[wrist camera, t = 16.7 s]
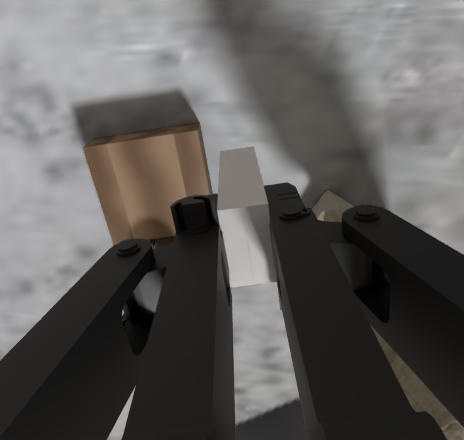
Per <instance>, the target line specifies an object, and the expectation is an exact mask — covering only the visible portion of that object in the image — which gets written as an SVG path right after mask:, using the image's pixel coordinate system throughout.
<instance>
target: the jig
mask: <svg viewBox="0 0 464 440" xmlns="http://www.w3.org/2000/svg"><path fill="white" fill-rule="evenodd" d="M83 150H84V153H85V156H86V159H87V162H88V165H89V168H90V171H91V175H92V178H93V181H94V184H95V187H96V190H97V193H98V196H99V200H100V203H101V206H102V209H103V212H104V215H105V218H106V221H107V224H108V228H109V231H110V234H111V237H112V240H113V243H114V245H116V244H118V243H120V242H121V241H124V240H127V239H138V238H139V239H146V240H149V239H156V238H163V237H170V236H175V234H176V230H175V225H174V221H173V217H172V213H171V208H170V206H171V205H172V204H173V203H174V202H176V201H177V200H180V199H182V198H185V197H189V196H194V195H212V194H213V192H212V187H211V181H210V176H209V170H208V165H207V159H206V154H205V148H204V143H203V137H202V132H201V126H200V123H194V124H187V125H181V126H174V127H168V128H161V129H155V130H148V131H142V132H135V133H129V134H122V135H116V136H109V137H103V138H96V139H94V140H93V141H91V142H90V143H89V144H87V145H86V146H85V147H83Z"/></svg>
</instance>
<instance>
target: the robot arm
mask: <svg viewBox="0 0 464 440" xmlns="http://www.w3.org/2000/svg"><path fill="white" fill-rule="evenodd" d="M170 208H171V213H172V217H173V221H174V225H175V230H176V234H175V237H174V241H173V242H172V243H170V244H168V245H165V246H162V247H159V248H155V249H152V246H151V243H150V241H148V240H146V239H139V238H138V239H127V240H124V241H121V242H120V243H118V244H116V245H114V246H113V247H112V248H110V249H109V250H108V251H107V252H106V253H105V254H104V255H103V256H102V257H101V258H100V259H99V260H98V261H97V262H96V263H95V264H94V265H93V266H92V267H91V268H90V269H89V270H88V271H87V272H86V273H85V274H84V275H83V276H82V277H81V278H80V280H79V281H78V282H77V283H76V284H75V285H74V286H73V287H72V288H71V289H70V290H69V291H68V292H67V293H66V294H65V295H64V296H63V297H62V298H61V299H60V300H59V301H58V302H57V303H56V304H55V305H54V306H53V307H52V308H51V309H50V310H49V311H48V312H47V313H46V314H45V315H44V316H43V317H42V319H41V320H40V321H39V322H38V323H37V324H36V325H35V326H34V327H33V328H32V329H31V330H30V331H29V332H28V333H27V334H26V335H25V336H24V337H23V338H22V339H21V340H20V341H19V342H18V343H17V344H16V345H15V346H14V347H13V348H12V349H11V350H10V351H9V352H8V353H7V354H6V355H5V356H4V357H3V359H2V360H1V361H0V440H107V438H108V436H109V434H110V432H111V431H112V429H113V427H114V425H115V423H116V421H117V419H118V417H119V416H120V414H121V412H122V410H123V408H124V406H125V404H126V402H127V401H128V399H129V397H130V395H131V393H132V391H133V389H134V387H135V386H136V388H135V391H134V395H133V399H132V403H131V407H130V411H129V415H128V418H127V422H126V426H125V430H124V434H123V437H122V440H235V400H234V360H233V321H232V294H231V289H230V285H231V287H239V286H246V285H254V284H261V283H269V282H277V285H278V294H279V302H280V310H282V312H283V317H284V322H285V327H286V332H287V337H288V342H289V347H290V352H291V357H292V362H293V367H294V372H295V377H296V382H297V387H298V392H299V397H300V401H301V406H302V411H303V416H304V421H305V426H306V431H307V436H308V440H447V438H446V437H445V435H444V433H443V431H442V430H441V428H440V427H439V425H438V424H437V422H436V420H435V419H434V417H432V416H431V415H430V414H429V413H428V412H426V411H421V412H416V411H415V410H414V409H413V408H412V406H411V405H410V403H409V401H408V399H407V397H406V395H405V393H404V391H403V389H402V387H401V385H400V383H399V381H398V379H397V377H396V375H395V373H394V371H393V369H392V367H391V365H390V363H389V361H388V359H387V357H386V355H385V353H384V351H383V349H382V347H381V345H380V343H379V341H378V339H377V337H376V335H375V333H374V331H373V329H372V327H373V328H374V329H375V330H376V331H377V333H378V334H379V335H380V336H381V337H382V338H383V339H384V340H385V341H386V342H387V344H388V345H389V346H390V347H391V348H392V349H393V350H394V351H395V352H396V354H397V355H398V356H399V357H400V358H401V359H402V360H403V361H404V362H405V363H406V365H407V366H408V367H409V368H410V369H411V370H412V371H413V372H414V373H415V374H416V376H417V377H418V378H419V379H420V380H421V381H422V382H423V383H424V384H425V385H426V387H427V388H428V389H429V390H430V391H431V392H432V393H433V394H434V395H435V396H436V398H437V399H438V400H439V401H440V402H441V403H442V404H443V405H444V406H445V408H446V409H447V410H448V411H449V412H450V413H451V414H452V415H453V416H454V417H455V419H456V420H457V421H458V422H459V423H460V424H461V425H462V426H463V427H464V255H463V254H461V253H460V252H458V251H456V250H454V249H453V248H451V247H449V246H448V245H446V244H444V243H443V242H441V241H439V240H437V239H436V238H434V237H432V236H431V235H429V234H427V233H426V232H424V231H422V230H420V229H419V228H417V227H415V226H414V225H412V224H410V223H409V222H407V221H405V220H403V219H402V218H400V217H398V216H397V215H395V214H393V213H392V212H390V211H388V210H386V209H384V208H381V207H376V206H373V205H367V206H366V205H360V206H357V207H352V208H350V209H347V210H346V211H344V212H343V213H342V222H329V221H321V220H318V219H317V217H316V215H315V213H314V212H313V211H312V210H311V209H309V208H306V207H305V206H304V204H303V202H302V200H301V198H300V196H299V193H298V191H297V189H296V187H295V186H293V185H291V184H289V183H281V184H274V185H267V186H264V185H263V181H262V177H261V173H260V169H259V166H258V162H257V158H256V154H255V150H254V147H247V148H240V149H234V150H227V151H220V168H219V186H218V194H212V195H194V196H189V197H185V198H182V199H180V200H177V201H176V202H174V203H173V204H172V205H171V206H170ZM229 279H230V283H229ZM122 310H124V314H123V316H122ZM371 326H372V327H371Z"/></svg>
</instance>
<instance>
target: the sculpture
mask: <svg viewBox="0 0 464 440" xmlns="http://www.w3.org/2000/svg"><path fill="white" fill-rule="evenodd" d="M352 207H354V206H353V205H351V204H350V203H348V202H347V201H345V200H344V199H342V198H340V197H339V196H337V195H336V194H334V193H333V192H331V191H329V190H328V191H325V193H324V194H323V195H322V196H321V198H320V199H319V200H318V202H317V203H316V204H315V206H314V207H313V208H312V211H313V212H314V213H315V215H316V217H317V219H318V220H321V221H329V222H342V213H343V212H344V211H346V210H347V209H350V208H352ZM371 327H372V326H371ZM372 329H373V331H374V333H375V335H376V337H377V339H378V341H379V343H380V345H381V347H382V349H383V351H384V353H385V355H386V357H387V359H388V361H389V363H390V365H391V367H392V369H393V371H394V373H395V375H396V377H397V379H398V381H399V383H400V385H401V387H402V389H403V391H404V393H405V395H406V397H407V399H408V401H409V403H410V405H411V406H412V408H413V409H414V410H415V411H416V412H421V411H426V412H428V413H429V414H430V415H431V416H432V417H434V419H435V420H436V422H437V424H438V425H439V427H440V428H441V430H442V431H443V433H444V435H445V437H446V438H447V440H464V427H463V426H462V425H461V424H460V423H459V422H458V421H457V420H456V419H455V417H454V416H453V415H452V414H451V413H450V412H449V411H448V410H447V409H446V408H445V406H444V405H443V404H442V403H441V402H440V401H439V400H438V399H437V398H436V396H435V395H434V394H433V393H432V392H431V391H430V390H429V389H428V388H427V387H426V385H425V384H424V383H423V382H422V381H421V380H420V379H419V378H418V377H417V376H416V374H415V373H414V372H413V371H412V370H411V369H410V368H409V367H408V366H407V365H406V363H405V362H404V361H403V360H402V359H401V358H400V357H399V356H398V355H397V354H396V352H395V351H394V350H393V349H392V348H391V347H390V346H389V345H388V344H387V342H386V341H385V340H384V339H383V338H382V337H381V336H380V335H379V334H378V333H377V331H376V330H375V329H374V328H373V327H372Z"/></svg>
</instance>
